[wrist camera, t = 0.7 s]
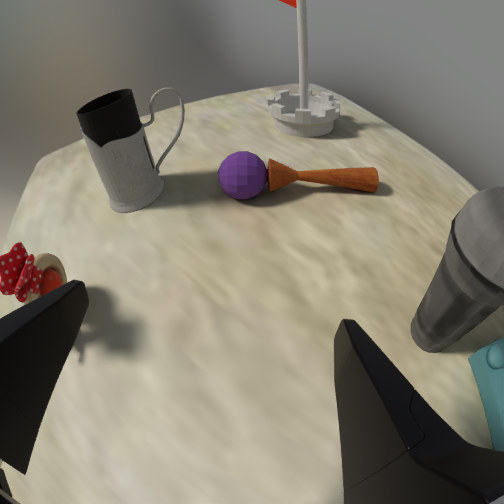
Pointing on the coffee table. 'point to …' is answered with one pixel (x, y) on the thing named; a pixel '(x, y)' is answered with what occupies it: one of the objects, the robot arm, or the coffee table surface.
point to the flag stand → (303, 95)
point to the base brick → (491, 387)
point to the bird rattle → (29, 274)
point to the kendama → (284, 176)
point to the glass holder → (123, 149)
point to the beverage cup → (465, 274)
